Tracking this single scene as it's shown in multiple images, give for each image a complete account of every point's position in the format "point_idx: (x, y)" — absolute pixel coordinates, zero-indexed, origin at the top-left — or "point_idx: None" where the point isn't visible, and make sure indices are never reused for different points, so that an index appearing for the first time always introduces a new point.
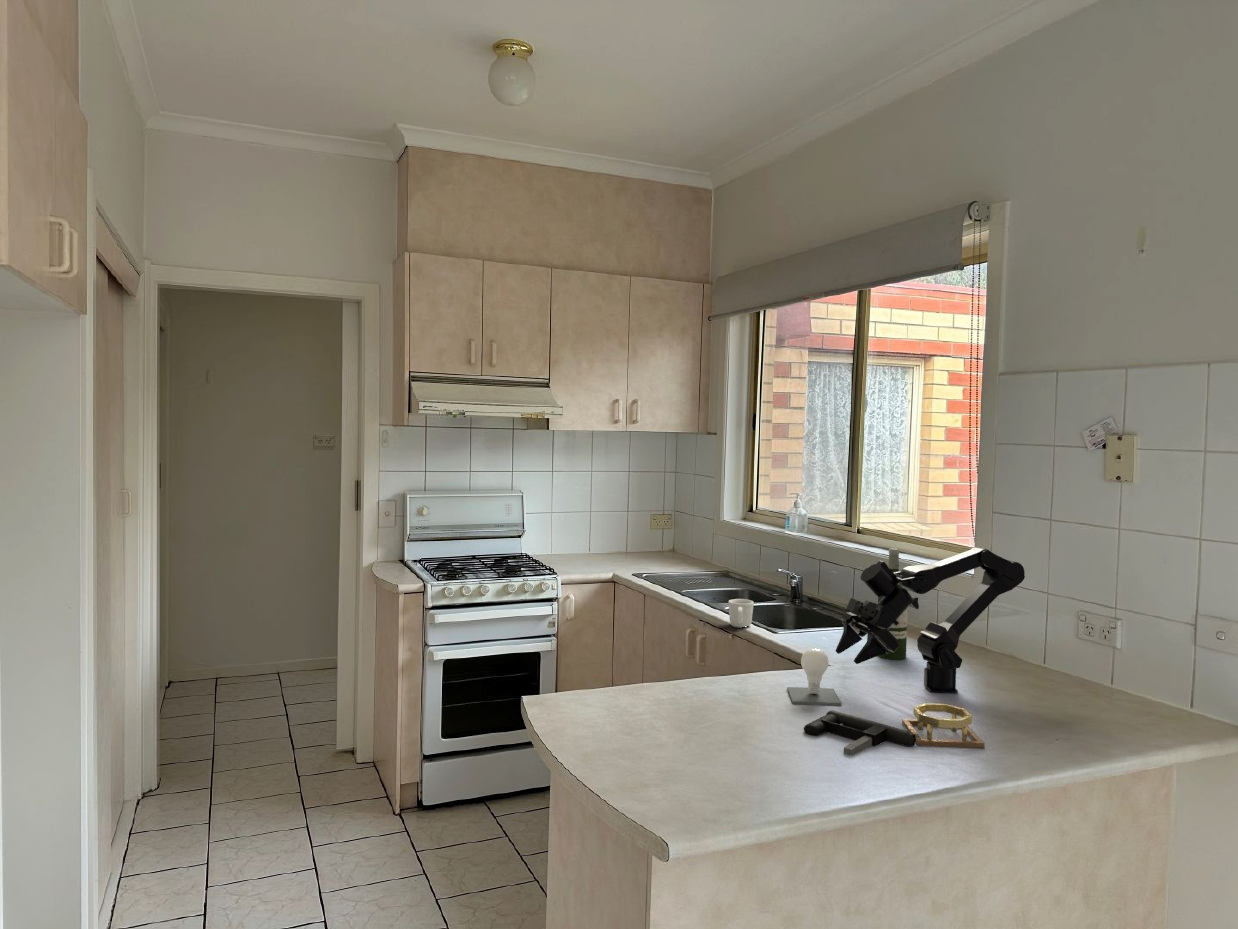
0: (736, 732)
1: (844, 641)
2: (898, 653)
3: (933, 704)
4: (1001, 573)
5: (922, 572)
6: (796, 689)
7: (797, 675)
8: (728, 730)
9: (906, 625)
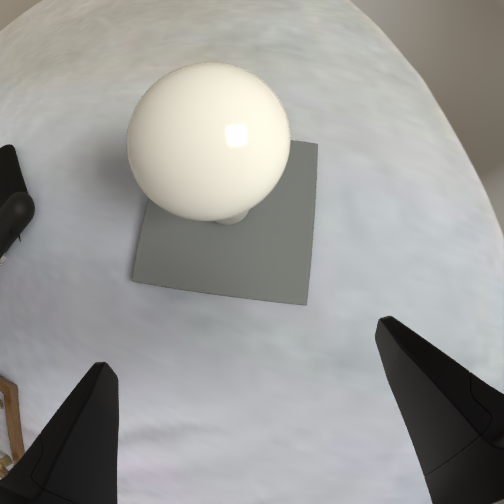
0: (58, 57)
1: (430, 399)
2: None
3: None
4: None
5: None
6: (291, 164)
7: (463, 225)
8: (69, 47)
9: None
